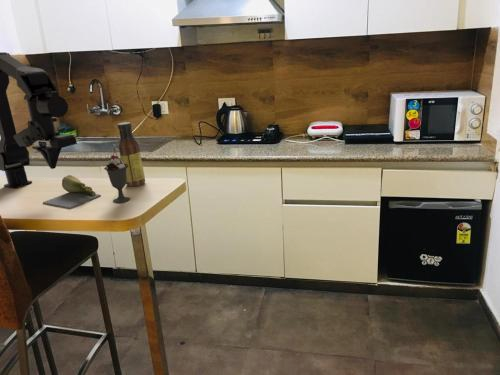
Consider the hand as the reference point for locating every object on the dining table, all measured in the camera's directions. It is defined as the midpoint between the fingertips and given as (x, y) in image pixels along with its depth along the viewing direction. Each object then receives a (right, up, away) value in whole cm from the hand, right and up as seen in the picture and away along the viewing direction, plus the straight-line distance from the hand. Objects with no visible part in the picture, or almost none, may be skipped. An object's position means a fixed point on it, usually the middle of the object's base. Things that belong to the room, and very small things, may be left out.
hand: (53, 168), depth 126 cm
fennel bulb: (+1, -4, +6) cm, 8 cm away
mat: (+6, -9, 0) cm, 11 cm away
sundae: (+21, -10, -3) cm, 23 cm away
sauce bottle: (+21, -5, +11) cm, 25 cm away
